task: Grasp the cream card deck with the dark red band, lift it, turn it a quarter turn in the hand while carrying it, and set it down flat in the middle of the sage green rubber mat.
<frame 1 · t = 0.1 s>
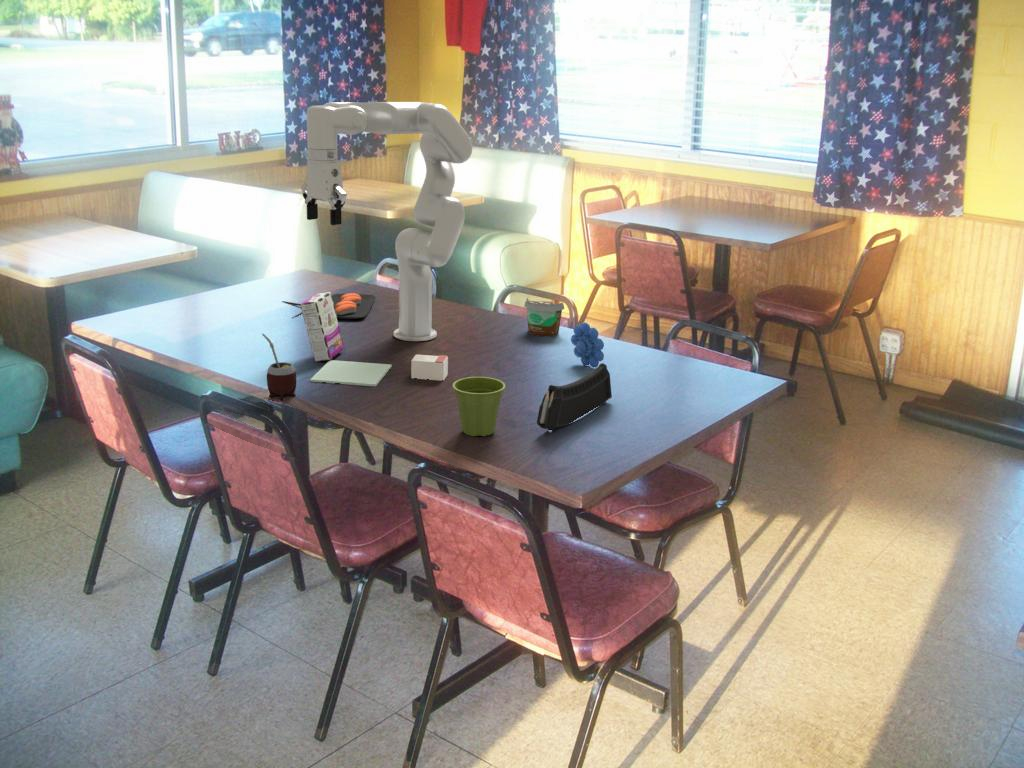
hand: (324, 221, 285), 37 cm above the table, tool pointing down, fingers open, 9 cm apart
mate gourd: (280, 397, 266), on the table
grapes: (583, 367, 297), on the table
plant pot: (477, 432, 247), on the table
sushi plate: (324, 310, 347), on the table
candy bar box: (329, 356, 297), on the table
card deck: (429, 376, 284), on the table
magazine: (575, 419, 258), on the table
food container: (540, 335, 326), on the table
mat: (352, 373, 284), on the table
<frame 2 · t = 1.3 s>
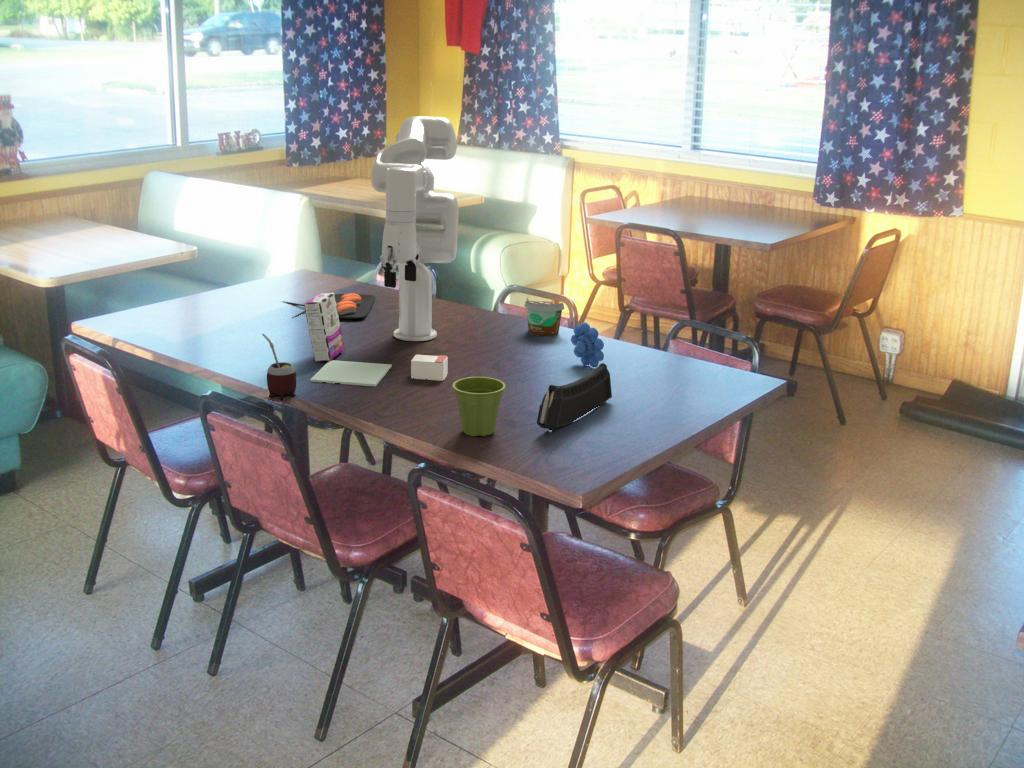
hand: (400, 283, 279), 24 cm above the table, tool pointing down, fingers open, 9 cm apart
candy bar box: (329, 356, 297), on the table, touching mat
everything else where it was.
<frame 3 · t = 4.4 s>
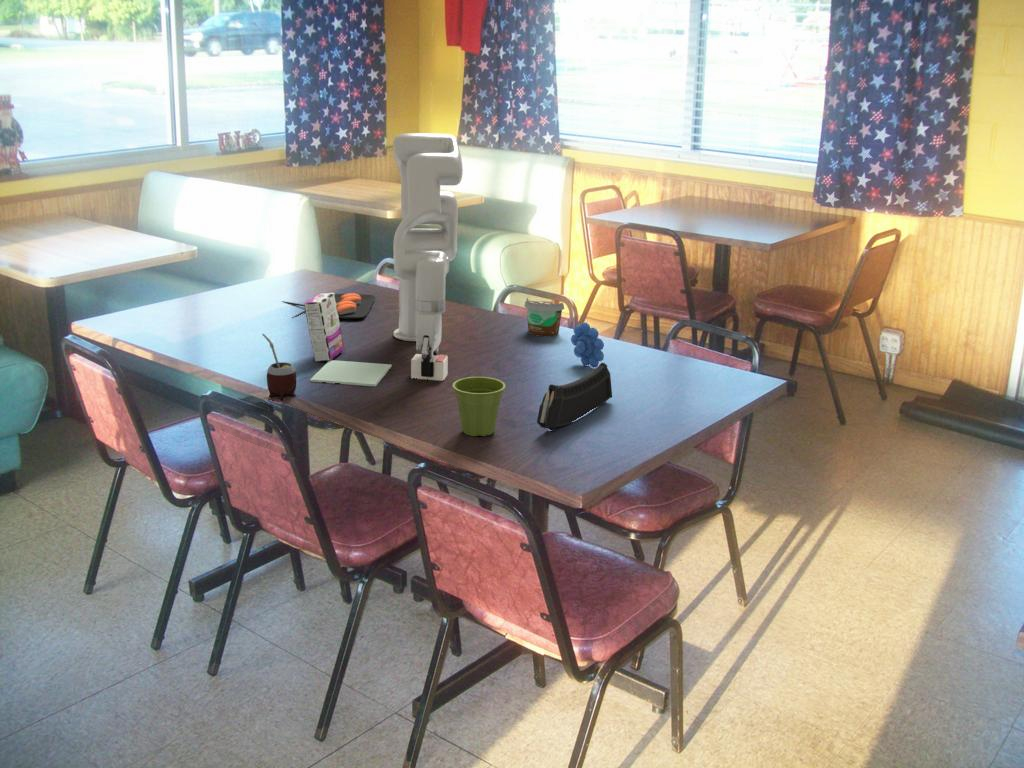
hand: (429, 372, 284), 1 cm above the table, tool pointing down, fingers closed on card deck, 5 cm apart
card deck: (429, 376, 284), on the table, touching gripper
everything else where it was.
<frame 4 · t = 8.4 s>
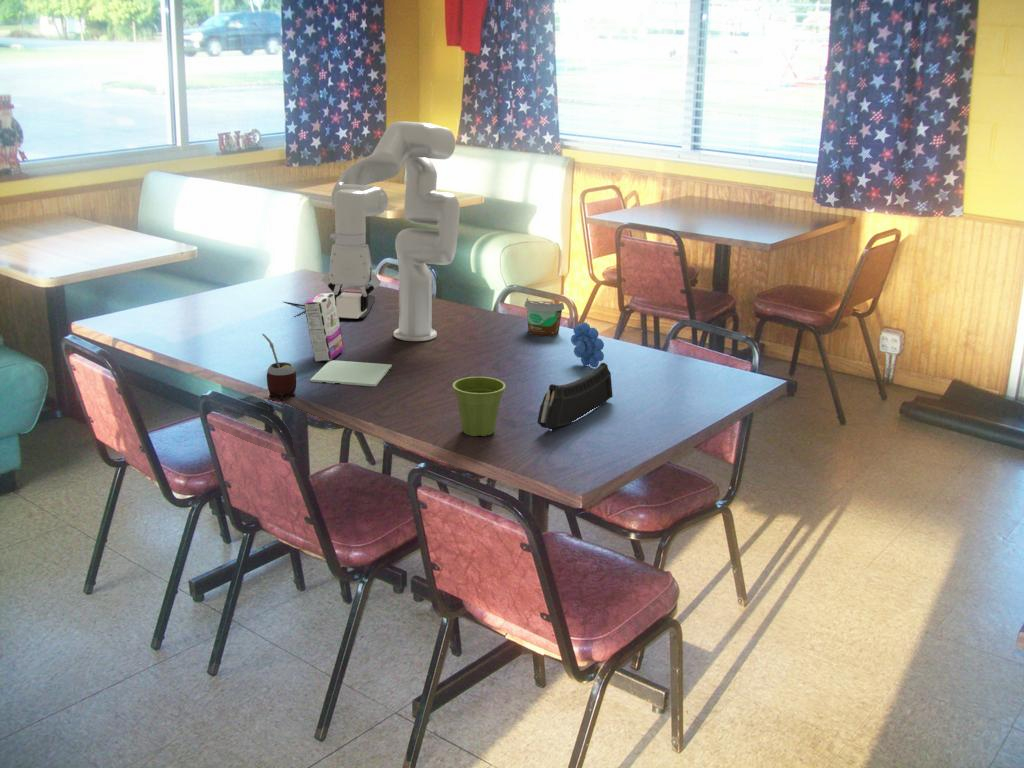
hand: (351, 309, 278), 17 cm above the table, tool pointing down, fingers closed on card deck, 5 cm apart
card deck: (351, 313, 279), point 16 cm above the table, touching gripper
everything else where it was.
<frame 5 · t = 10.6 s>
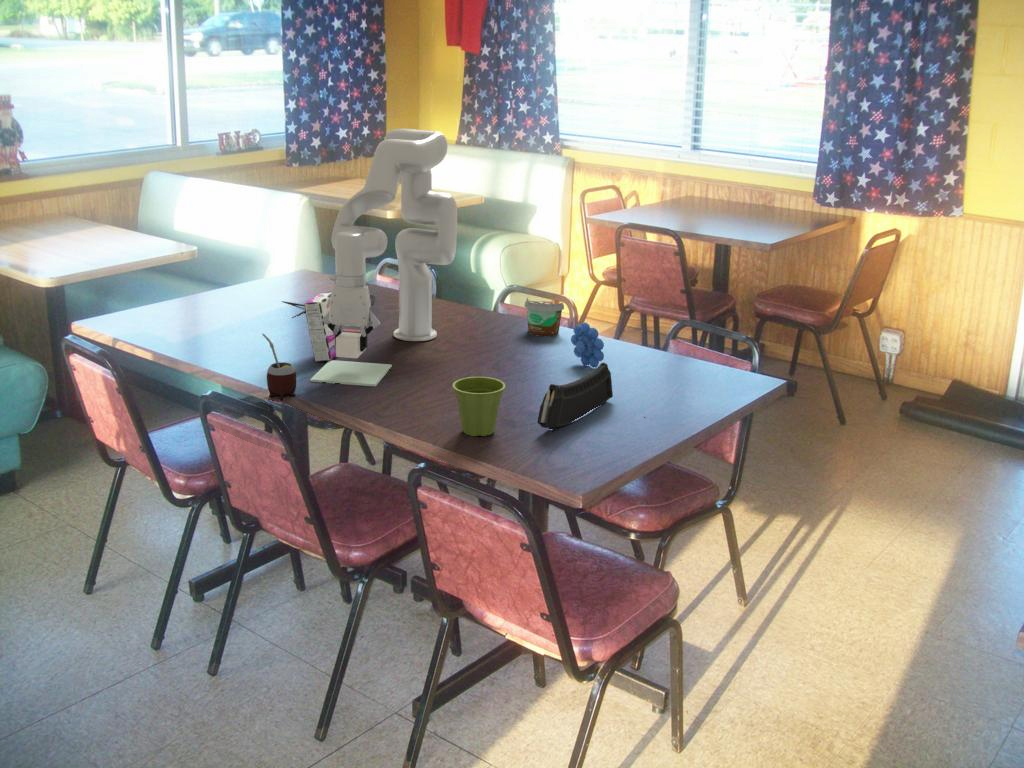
hand: (351, 348, 281), 7 cm above the table, tool pointing down, fingers closed on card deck, 5 cm apart
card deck: (351, 353, 282), point 6 cm above the table, touching gripper
everything else where it was.
when the fingers open (3 cm above the table, at t = 12.3 s): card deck drops 1 cm, resting on mat.
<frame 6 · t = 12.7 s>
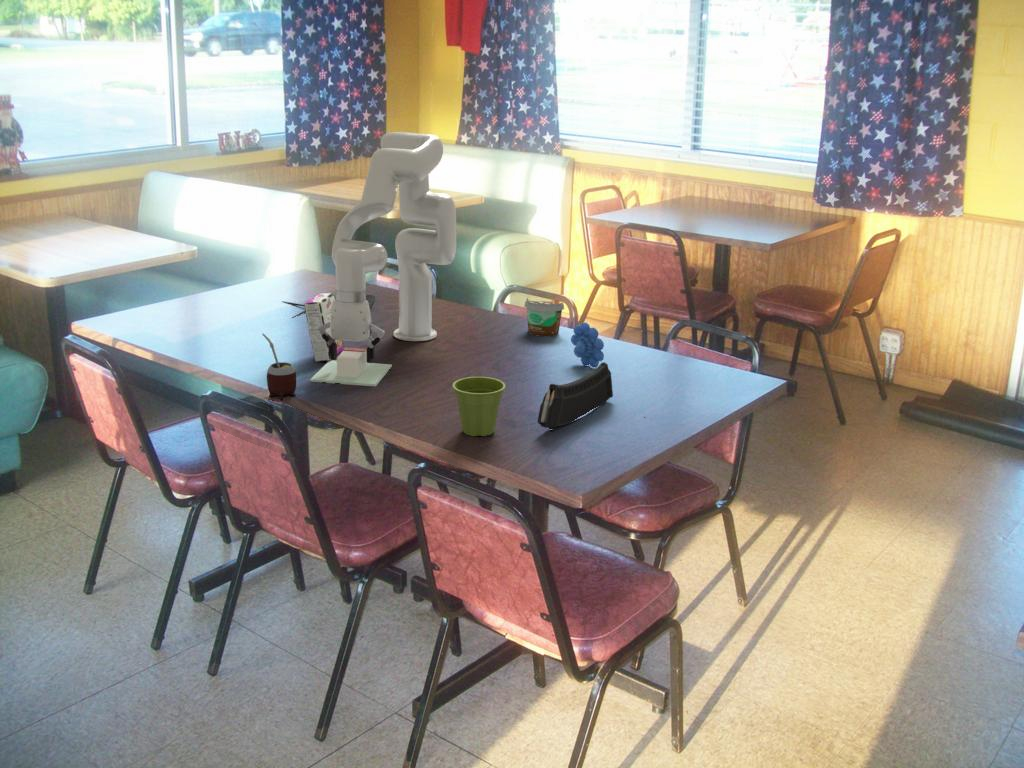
hand: (351, 360, 283), 4 cm above the table, tool pointing down, fingers open, 9 cm apart
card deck: (352, 371, 284), point 1 cm above the table, touching mat
everything else where it was.
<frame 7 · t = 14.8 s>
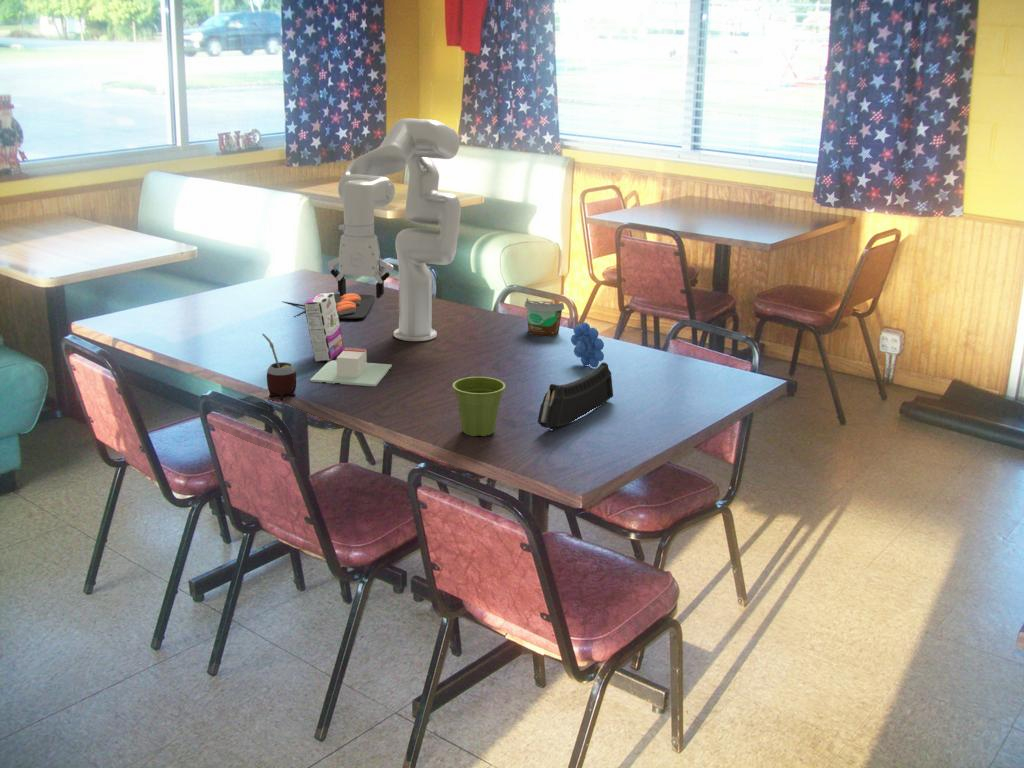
hand: (361, 295, 280), 20 cm above the table, tool pointing down, fingers open, 9 cm apart
nothing on the table moved.
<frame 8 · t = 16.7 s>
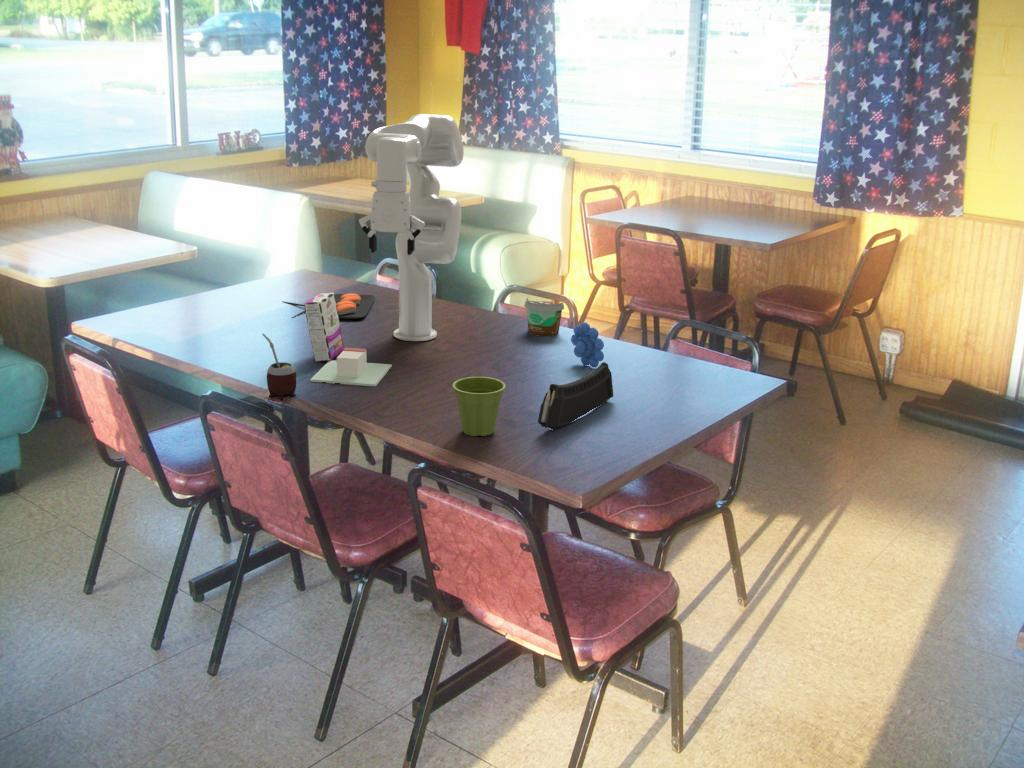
hand: (391, 252, 284), 30 cm above the table, tool pointing down, fingers open, 9 cm apart
nothing on the table moved.
at the end: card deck inside the target area on the mat (0.0 cm from its centre), point 0.6 cm above the mat's base; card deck tilted 0°; the gripper is holding nothing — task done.
